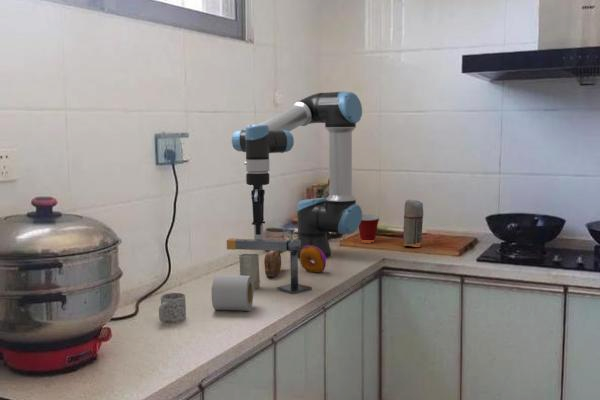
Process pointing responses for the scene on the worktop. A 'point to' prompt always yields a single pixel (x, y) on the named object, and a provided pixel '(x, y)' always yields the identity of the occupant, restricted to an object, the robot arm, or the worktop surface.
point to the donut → (314, 254)
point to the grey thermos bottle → (413, 222)
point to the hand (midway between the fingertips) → (258, 243)
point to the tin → (272, 263)
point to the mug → (172, 308)
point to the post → (294, 277)
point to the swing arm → (264, 244)
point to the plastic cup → (368, 226)
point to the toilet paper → (232, 292)
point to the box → (250, 267)
